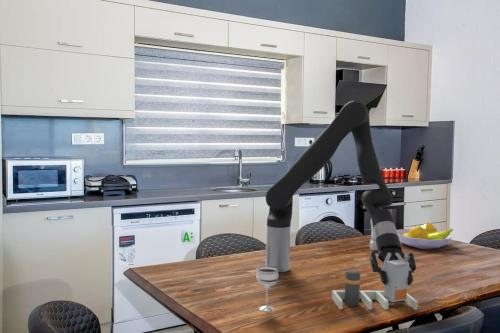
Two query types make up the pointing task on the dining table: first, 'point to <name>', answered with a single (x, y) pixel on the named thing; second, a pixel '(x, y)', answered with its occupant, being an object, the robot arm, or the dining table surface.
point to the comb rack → (368, 295)
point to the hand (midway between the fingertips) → (398, 283)
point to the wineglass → (267, 282)
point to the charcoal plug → (352, 288)
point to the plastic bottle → (372, 241)
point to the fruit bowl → (424, 237)
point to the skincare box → (396, 280)
